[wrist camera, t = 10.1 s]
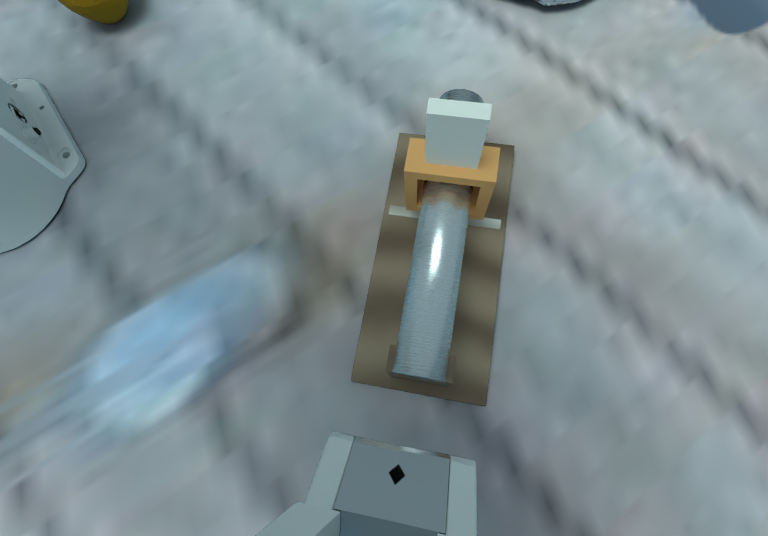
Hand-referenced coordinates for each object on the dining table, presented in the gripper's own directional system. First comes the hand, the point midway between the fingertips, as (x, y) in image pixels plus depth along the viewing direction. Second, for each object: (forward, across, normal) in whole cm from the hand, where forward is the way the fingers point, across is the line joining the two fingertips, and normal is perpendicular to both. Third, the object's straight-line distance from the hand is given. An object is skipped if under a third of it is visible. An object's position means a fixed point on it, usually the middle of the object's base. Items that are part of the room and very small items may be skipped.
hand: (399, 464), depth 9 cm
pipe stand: (+33, 0, +11) cm, 35 cm away
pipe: (+29, 0, +7) cm, 29 cm away
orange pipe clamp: (+33, 0, +5) cm, 33 cm away
